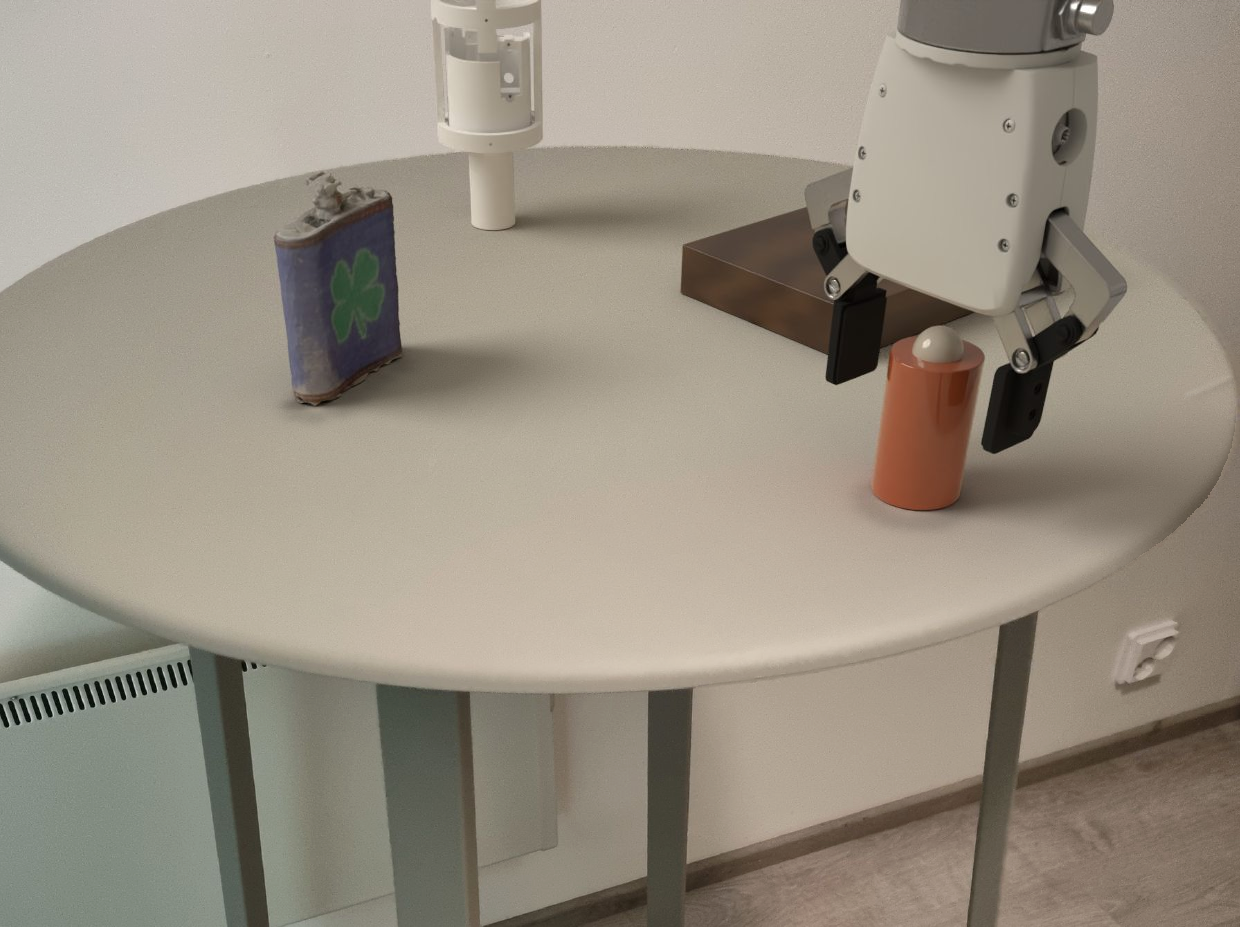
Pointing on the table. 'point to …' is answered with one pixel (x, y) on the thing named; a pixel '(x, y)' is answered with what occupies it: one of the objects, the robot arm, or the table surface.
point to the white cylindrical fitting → (488, 96)
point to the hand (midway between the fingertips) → (925, 409)
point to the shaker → (926, 419)
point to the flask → (339, 289)
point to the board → (791, 283)
